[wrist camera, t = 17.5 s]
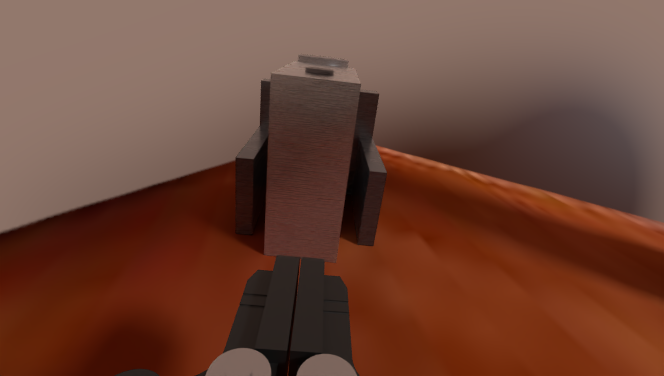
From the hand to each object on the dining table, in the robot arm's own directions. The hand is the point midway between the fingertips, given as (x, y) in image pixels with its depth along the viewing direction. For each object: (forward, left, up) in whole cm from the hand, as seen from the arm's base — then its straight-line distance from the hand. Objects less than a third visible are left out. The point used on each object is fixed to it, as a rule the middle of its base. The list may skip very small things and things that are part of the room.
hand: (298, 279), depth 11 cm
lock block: (0, -16, -7) cm, 17 cm away
